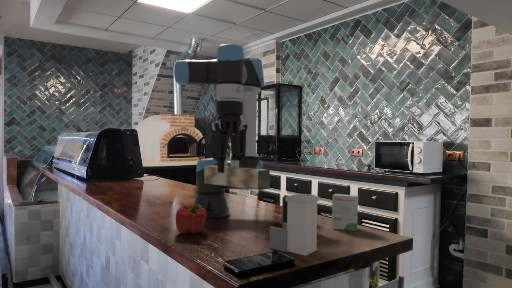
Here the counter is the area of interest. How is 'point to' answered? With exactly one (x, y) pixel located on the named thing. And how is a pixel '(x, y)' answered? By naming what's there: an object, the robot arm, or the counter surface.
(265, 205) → the counter surface
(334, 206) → the ink box
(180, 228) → the vegetable
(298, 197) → the grey forked bracket
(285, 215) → the mug
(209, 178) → the rail
